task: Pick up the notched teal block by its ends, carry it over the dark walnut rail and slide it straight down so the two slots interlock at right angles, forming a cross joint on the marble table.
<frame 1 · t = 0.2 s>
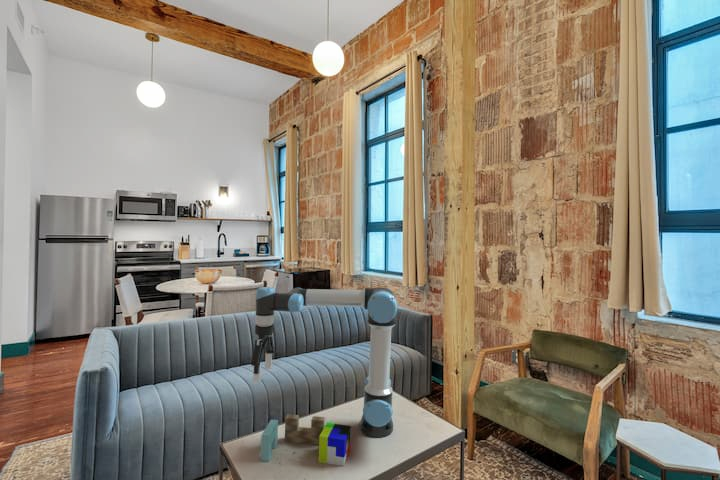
hand: (262, 374, 147), 27 cm above the table, fingers open, 13 cm apart
notched teal block: (269, 452, 138), on the table
puzzle toy: (334, 456, 137), on the table
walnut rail: (304, 441, 146), on the table
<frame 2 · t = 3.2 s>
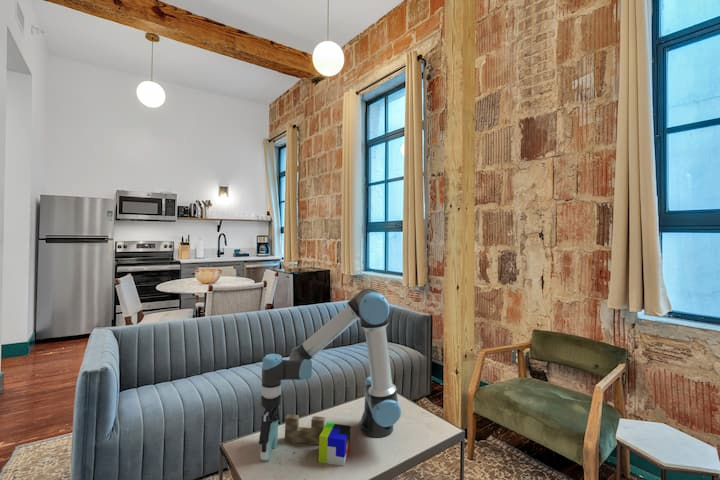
hand: (269, 449, 138), 1 cm above the table, fingers closed on notched teal block, 11 cm apart
notched teal block: (269, 452, 138), on the table, touching gripper
everything else where it was.
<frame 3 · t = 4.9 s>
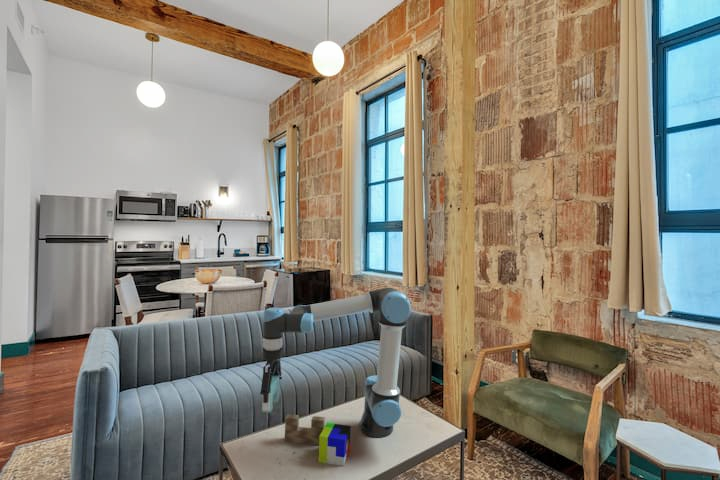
hand: (271, 402, 138), 20 cm above the table, fingers closed on notched teal block, 11 cm apart
notched teal block: (271, 405, 138), point 19 cm above the table, touching gripper
everything else where it was.
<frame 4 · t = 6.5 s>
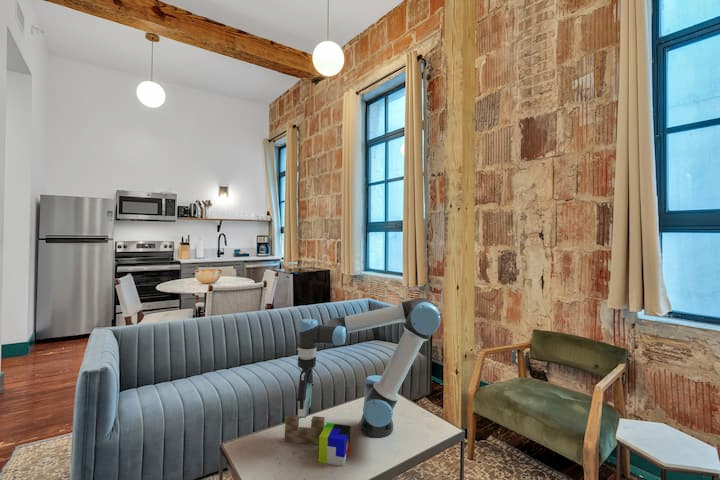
hand: (304, 408, 146), 14 cm above the table, fingers closed on notched teal block, 11 cm apart
notched teal block: (304, 411, 146), point 13 cm above the table, touching gripper
everything else where it was.
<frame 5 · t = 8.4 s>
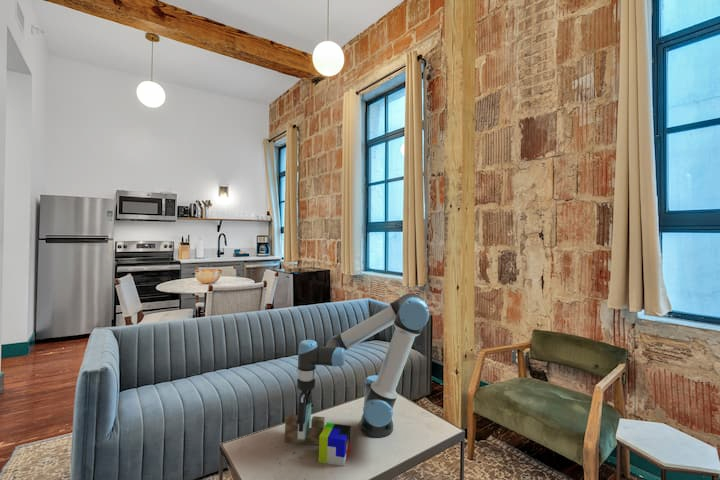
hand: (304, 430, 146), 5 cm above the table, fingers closed on notched teal block, 11 cm apart
notched teal block: (304, 432, 146), point 4 cm above the table, touching gripper
everything else where it was.
when the fingers open (2 cm above the table, at t = 10.1 s): notched teal block stays where it is, resting on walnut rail.
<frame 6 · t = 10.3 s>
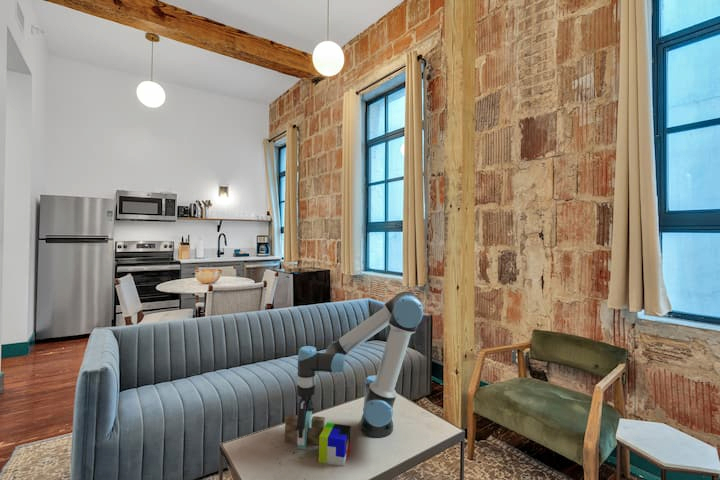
hand: (304, 435, 146), 3 cm above the table, fingers open, 13 cm apart
notched teal block: (304, 441, 146), resting on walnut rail
everything else where it was.
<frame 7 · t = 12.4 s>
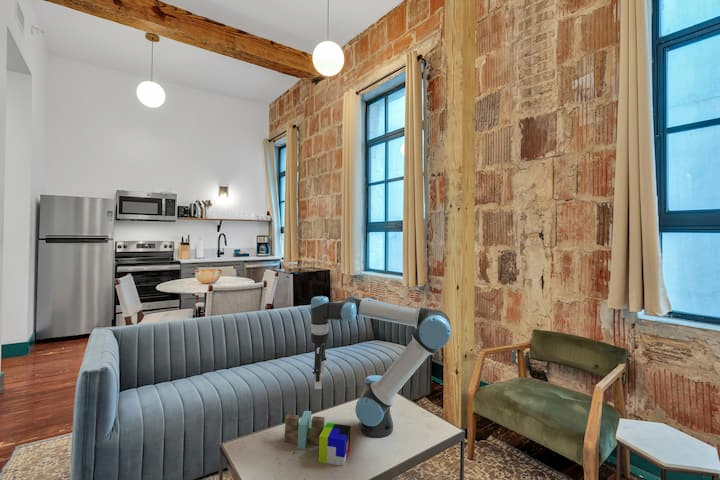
hand: (320, 382, 150), 23 cm above the table, fingers open, 13 cm apart
nothing on the table moved.
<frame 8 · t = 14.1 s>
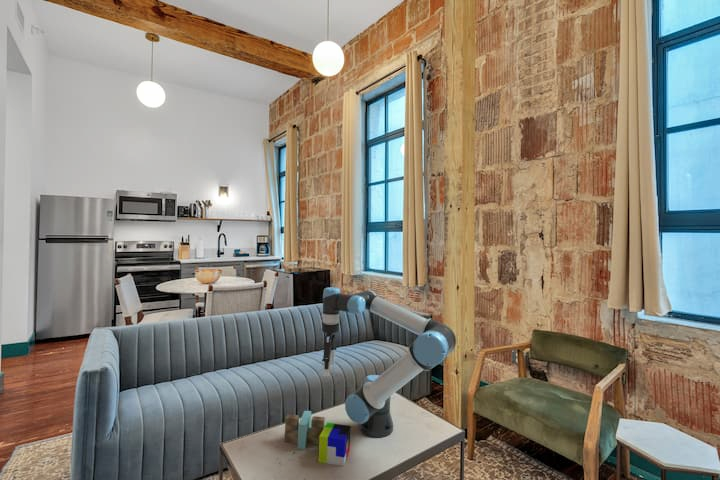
hand: (329, 370, 155), 27 cm above the table, fingers open, 13 cm apart
nothing on the table moved.
at the end: notched teal block 0.0 cm off-centre on the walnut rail, point 0.0 cm above the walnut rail's base; notched teal block tilted 0°; the gripper is holding nothing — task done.
